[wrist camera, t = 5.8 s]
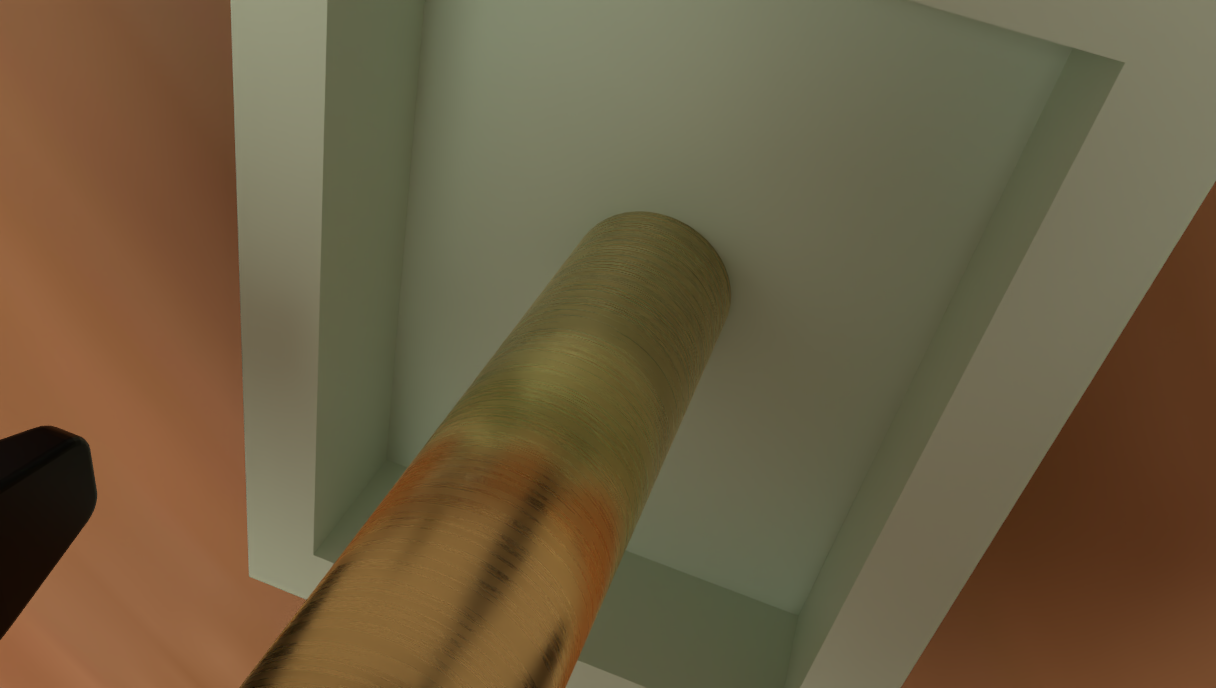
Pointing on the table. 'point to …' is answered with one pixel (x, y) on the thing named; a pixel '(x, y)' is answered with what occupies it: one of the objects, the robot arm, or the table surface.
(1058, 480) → the table surface
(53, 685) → the table surface
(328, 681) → the lock pin
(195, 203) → the table surface
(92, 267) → the table surface
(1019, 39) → the tray
